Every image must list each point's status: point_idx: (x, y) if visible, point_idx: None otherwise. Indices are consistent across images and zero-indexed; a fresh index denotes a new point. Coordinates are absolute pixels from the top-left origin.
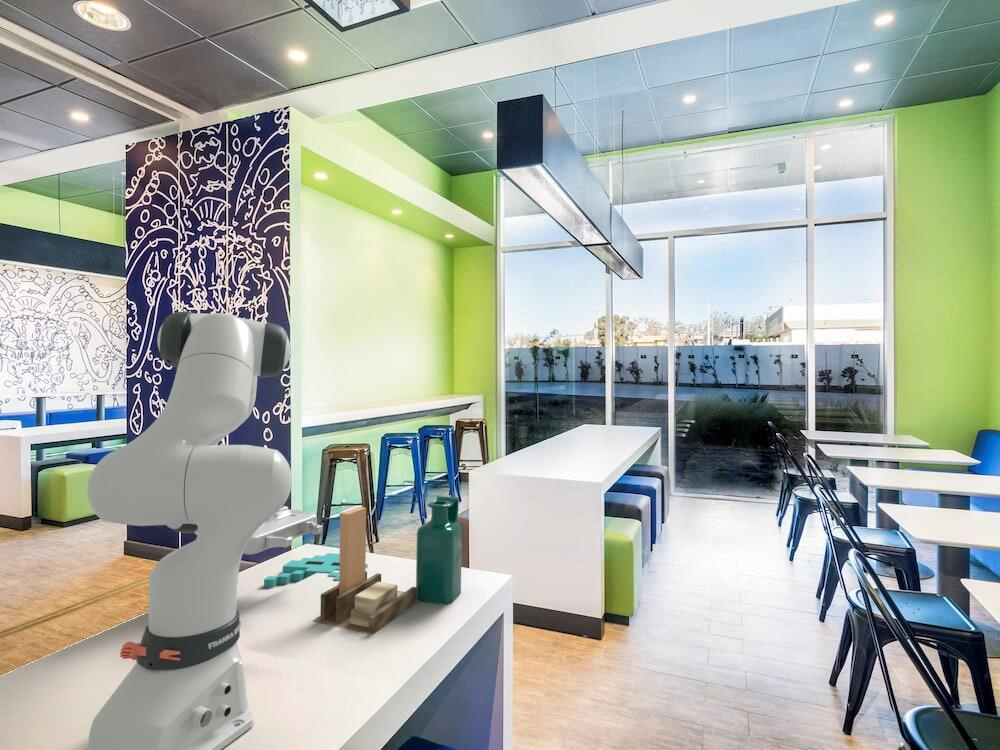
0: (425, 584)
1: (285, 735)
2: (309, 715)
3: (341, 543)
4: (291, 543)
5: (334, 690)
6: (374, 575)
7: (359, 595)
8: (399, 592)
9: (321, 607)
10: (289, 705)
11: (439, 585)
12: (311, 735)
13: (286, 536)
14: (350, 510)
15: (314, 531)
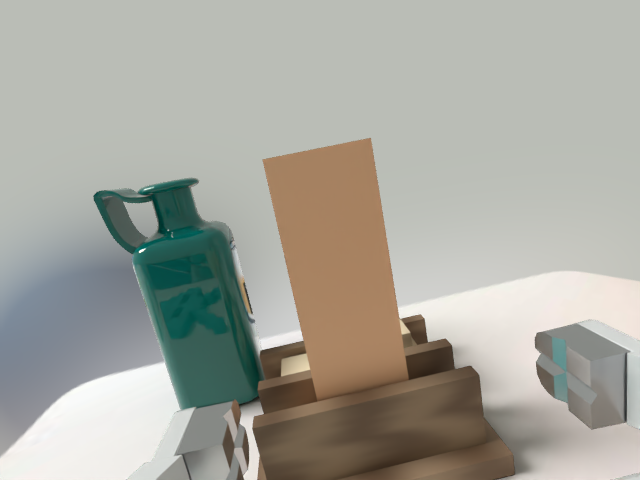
0: (255, 336)
1: (635, 285)
2: (596, 293)
3: (385, 241)
4: (543, 363)
5: (546, 308)
6: (276, 384)
7: (401, 329)
8: (289, 363)
9: (480, 408)
10: (625, 310)
11: (254, 322)
12: (599, 278)
13: (580, 354)
14: (320, 148)
15: (236, 460)
